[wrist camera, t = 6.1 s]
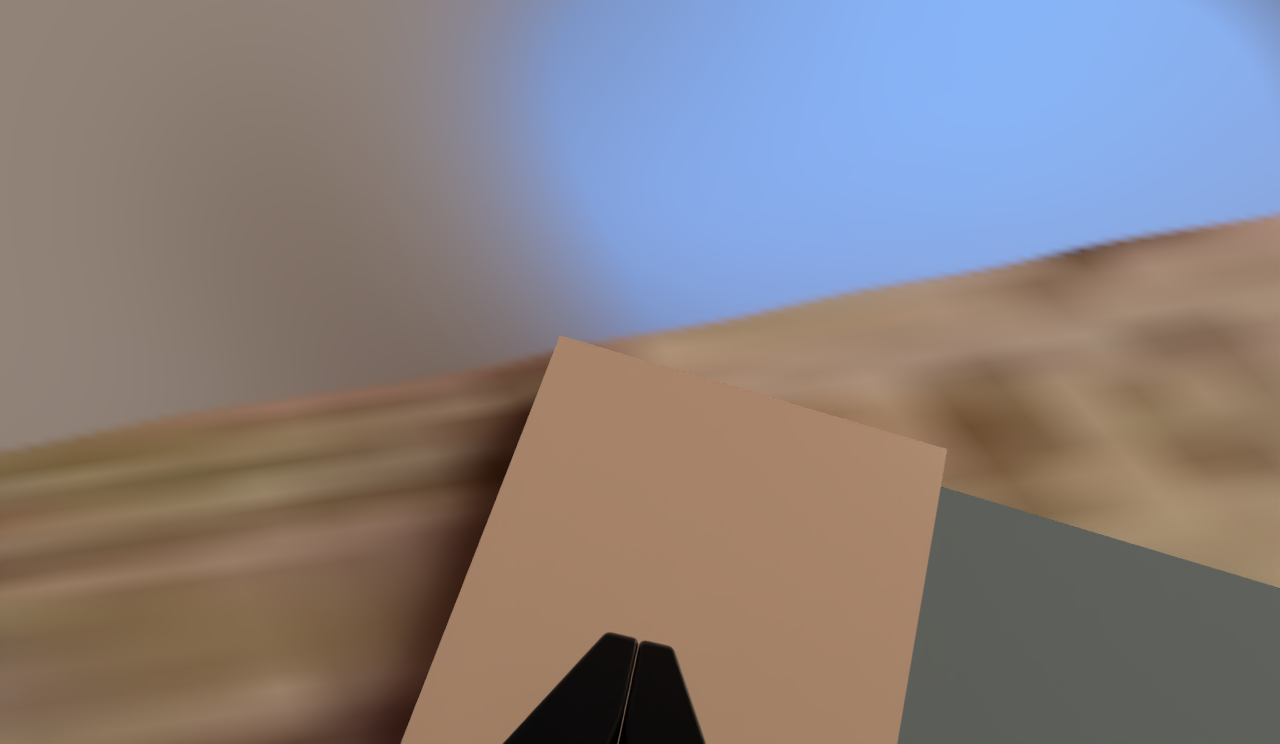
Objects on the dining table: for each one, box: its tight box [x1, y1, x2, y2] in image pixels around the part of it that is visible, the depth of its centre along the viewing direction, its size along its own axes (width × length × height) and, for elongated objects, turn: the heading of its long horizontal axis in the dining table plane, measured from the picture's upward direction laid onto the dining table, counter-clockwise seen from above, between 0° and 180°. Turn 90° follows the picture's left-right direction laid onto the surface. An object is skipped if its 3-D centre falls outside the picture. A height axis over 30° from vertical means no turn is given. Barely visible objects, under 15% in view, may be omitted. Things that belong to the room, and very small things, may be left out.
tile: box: [401, 336, 947, 744], centre depth 14 cm, size 2×8×11 cm
